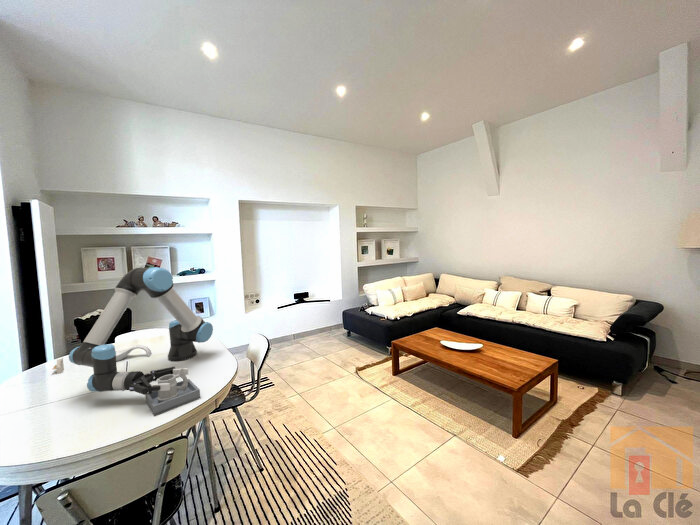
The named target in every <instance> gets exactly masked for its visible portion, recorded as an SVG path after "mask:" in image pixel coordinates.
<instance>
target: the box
mask: <svg viewBox="0 0 700 525" xmlns="http://www.w3.org/2000/svg"><path fill="white" fill-rule="evenodd" d="M187 379H188V386H187V388H186V391H182V390H177V391H178V392H179V393H178V397H175V398H172V399H169V400H167V401H164V402H161V403H159V402H158V400H157V397H158V391H152V394H149V392H147V394H146V395H144V397H145V403H146V405H147V407H148V408H149V410H150V412H151V414H152V415H153V417H155V416H159V415H161V414H164V413H167V412H168V411H171V410H174V409H177V408H179V407H182V406H184V405H187V404H189V403H192V402H194V401H196V400H199V398H200V399H201V390H200V388H199V387H198V386H197V385H196V384H195V383H194V382H193V381H192V380H191V379H190V378H187ZM182 384H183V380H181V381H177V386H182Z"/></svg>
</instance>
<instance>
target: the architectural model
mask: <svg viewBox="0 0 700 525" xmlns="http://www.w3.org/2000/svg"><path fill="white" fill-rule="evenodd" d="M53 370H56V375H60V374H63V372H64V370H65V367H64V357H61V358H59V359H56V364H54V366H53V368H52V371H53Z"/></svg>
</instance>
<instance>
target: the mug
mask: <svg viewBox="0 0 700 525" xmlns="http://www.w3.org/2000/svg"><path fill="white" fill-rule="evenodd" d="M179 369H180V371H179V374H178V375H173V374H169V375H165V376H162V377H160V378H159V379H157V384H162V383H170V390H169V391H158V397H157V400H158V402H159V403H161V402H164V401H167V400H169V399H172V398H175V397H178V393H179V392H178V391H177V390H182V391H186V388H187V386H188V379H189V378H188V377H187V375H185V373H184V372H183V369H184V368H183V367H181V368H179ZM178 378H180V379H182V381H183V384H182V386H177V382H178V381H177V379H178Z"/></svg>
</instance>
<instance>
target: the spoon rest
mask: <svg viewBox="0 0 700 525" xmlns="http://www.w3.org/2000/svg"><path fill="white" fill-rule="evenodd" d="M136 349H141V350H144V352H145V353H146V357H149V358H150V356H152V354H153V353H152V351H151V348H149V347H148V346H146V345H141V344H138V345H134V346H131V347H129V348H125V349H121V350H117V351H116V350H115V351H116V362H120V361H122V360H124V359H125V358H126V357H127V356H128V355H129V354H130V353H131V352H132V351H134V350H136Z"/></svg>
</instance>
